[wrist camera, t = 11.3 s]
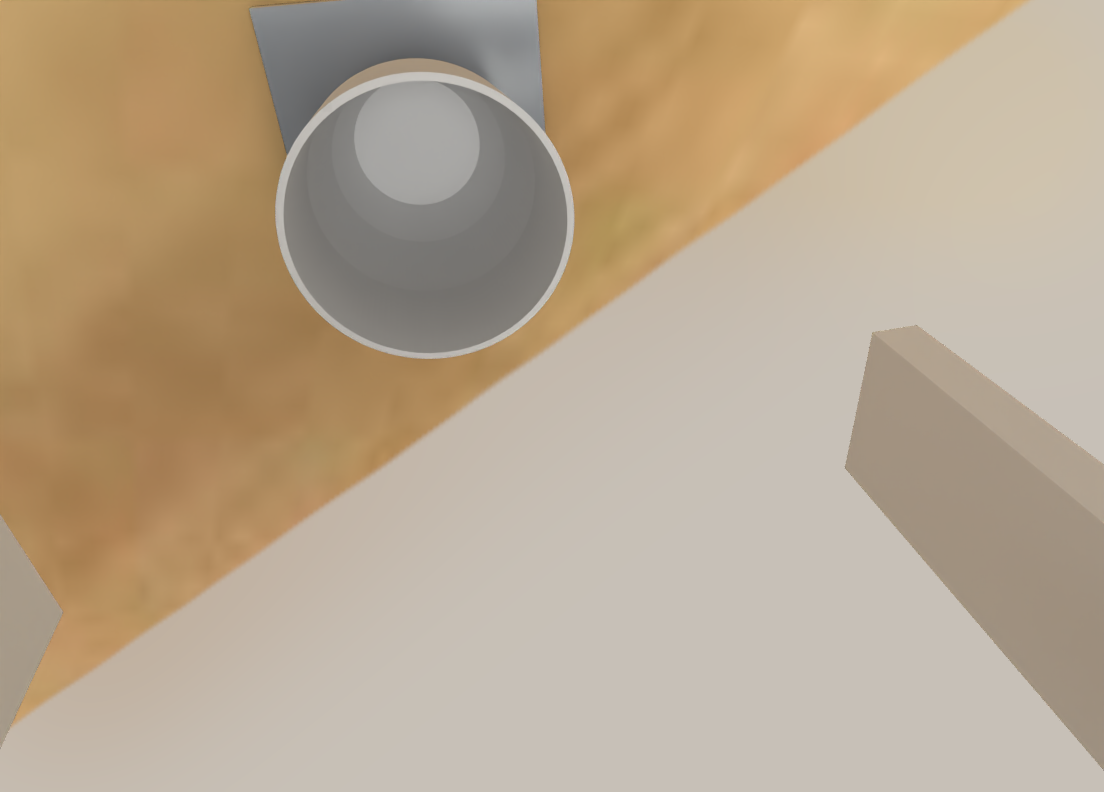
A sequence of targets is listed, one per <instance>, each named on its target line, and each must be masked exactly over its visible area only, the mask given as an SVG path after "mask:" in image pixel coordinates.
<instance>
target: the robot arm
mask: <svg viewBox="0 0 1104 792" xmlns="http://www.w3.org/2000/svg"><path fill="white" fill-rule="evenodd" d="M845 469H846V470H847V471H848V472H849V473H850V475H851V476H852V477H853V478H854V479H855V480H856V482H857V483H858V484H859V485H860V486H861V487H862V489H863V490H864V491H865V492H866V493H867V494H868V496H869V497H870V498H871V499H872V500H873V501H874V503H875V504H876V505H877V506H878V507H879V508H880V509H881V510H882V512H883V513H884V514H885V515H886V517H887V518H888V519H889V520H890V521H891V522H892V524H893V525H894V526H895V527H896V528H897V529H898V530H899V532H900V533H901V534H902V535H903V536H904V538H905V539H906V540H907V541H908V542H909V543H910V545H912V547H913V548H914V549H915V550H916V552H917V553H918V554H919V555H920V556H921V557H922V559H923V560H924V561H925V562H926V563H927V564H928V565H929V567H930V568H931V569H932V570H933V571H934V573H935V574H936V575H937V576H938V577H939V578H940V580H941V581H942V582H943V583H944V584H945V585H946V587H947V588H948V589H949V590H950V591H951V593H952V594H953V595H954V596H955V597H956V598H957V600H958V601H959V602H960V603H961V604H962V605H963V606H964V608H965V609H966V610H967V611H968V612H969V613H970V615H971V616H972V617H973V618H974V619H975V620H976V622H977V623H978V624H979V625H980V626H981V628H983V630H984V631H985V632H986V633H987V635H989V637H990V638H991V639H992V640H993V641H994V643H995V644H996V645H997V646H998V647H999V649H1000V650H1001V651H1002V652H1003V653H1004V654H1005V656H1006V657H1007V658H1008V659H1009V660H1010V661H1011V663H1012V664H1013V665H1014V666H1015V667H1016V668H1017V670H1018V671H1019V672H1020V673H1021V674H1022V675H1023V677H1024V678H1025V679H1026V680H1027V681H1028V682H1029V684H1030V685H1031V686H1032V687H1033V688H1034V689H1035V691H1036V692H1037V693H1038V694H1039V695H1040V696H1041V698H1042V699H1043V700H1044V701H1045V702H1046V703H1047V704H1048V706H1049V707H1050V708H1051V709H1052V710H1053V711H1054V713H1055V714H1056V715H1057V716H1058V717H1059V719H1060V720H1061V721H1062V722H1063V723H1064V724H1065V726H1066V727H1067V728H1068V729H1069V730H1070V731H1071V733H1072V734H1073V735H1074V736H1075V737H1076V738H1077V740H1078V741H1079V742H1080V743H1081V744H1082V745H1083V747H1084V748H1085V749H1086V750H1087V751H1088V752H1089V753H1090V755H1091V756H1092V757H1093V758H1094V759H1095V761H1096V762H1097V763H1098V764H1099V765H1100V767H1101V768H1102V769H1103V770H1104V464H1102V463H1101V462H1100V461H1098V460H1097V459H1096V458H1095V457H1093V456H1092V455H1091V454H1089V453H1088V452H1086V451H1085V450H1084V449H1082V448H1081V447H1080V446H1078V445H1077V444H1076V443H1074V442H1073V441H1072V440H1070V439H1069V438H1068V437H1066V436H1065V435H1064V434H1062V433H1061V432H1059V431H1058V430H1057V429H1056V428H1054V427H1053V426H1052V425H1050V424H1049V423H1047V422H1046V421H1045V420H1044V419H1042V418H1041V417H1039V416H1038V415H1037V414H1035V413H1034V412H1033V411H1031V410H1030V409H1029V408H1027V407H1026V406H1024V405H1023V404H1022V403H1021V402H1019V401H1018V400H1017V399H1015V398H1014V397H1013V396H1011V395H1010V394H1009V393H1007V392H1006V391H1005V390H1003V389H1002V388H1001V387H999V386H998V385H997V384H995V383H994V382H992V381H991V380H990V379H988V378H987V377H986V376H984V375H983V374H982V373H980V372H979V371H978V370H976V369H975V368H974V367H972V366H971V365H970V364H968V363H967V362H966V361H964V360H963V359H962V358H960V357H959V356H958V355H956V354H955V353H953V352H952V351H951V350H949V349H948V348H947V347H945V346H944V345H943V344H941V343H940V342H939V341H937V340H936V339H935V338H933V337H932V336H931V335H929V334H928V333H927V332H925V331H924V330H923V329H921V328H920V327H918V326H917V325H915V326H909V327H903V328H896V329H890V330H884V331H878V332H873V333H872V338H871V342H870V347H869V352H868V357H867V362H866V367H865V372H864V377H863V382H862V387H861V392H860V396H859V402H858V407H857V412H856V416H855V421H854V426H853V431H852V436H851V440H850V445H849V450H848V455H847V460H846V465H845ZM62 614H63V611H62V609H61V608H60V606H59V605H58V603H57V602H56V600H55V599H54V597H53V595H52V594H51V592H50V591H49V589H48V588H47V586H46V585H45V583H44V581H43V580H42V578H41V577H40V575H39V574H38V572H37V571H36V569H35V568H34V566H33V564H32V563H31V561H30V560H29V558H28V557H27V555H26V554H25V552H24V551H23V549H22V547H21V546H20V544H19V543H18V541H17V540H16V538H15V537H14V535H13V533H12V532H11V530H10V529H9V527H8V526H7V524H6V523H5V521H4V520H3V518H2V516H1V515H0V748H1V746H2V744H3V742H4V739H5V737H6V735H7V733H8V731H9V729H10V726H11V724H12V722H13V720H14V718H15V716H16V713H17V711H18V709H19V707H20V705H21V703H22V700H23V698H24V696H25V694H26V692H27V690H28V687H29V685H30V683H31V681H32V679H33V677H34V674H35V672H36V670H37V668H38V666H39V664H40V661H41V659H42V657H43V655H44V653H45V651H46V648H47V646H48V644H49V642H50V640H51V638H52V635H53V633H54V631H55V629H56V627H57V625H58V622H59V620H60V618H61V616H62Z"/></svg>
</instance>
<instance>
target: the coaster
mask: <svg viewBox="0 0 1104 792" xmlns="http://www.w3.org/2000/svg"><path fill="white" fill-rule="evenodd" d="M249 11H250V15H251V18H252V22H253V26H254V30H255V34H256V38H257V42H258V45H259V49H260V53H261V57H262V61H263V65H264V68H265V72H266V76H267V80H268V84H269V88H270V92H271V95H272V99H273V103H274V107H275V111H276V115H277V118H278V122H279V126H280V130H281V134H282V138H283V142H284V145H285V149H286V153H287V156H288V153H289V151H290V149H291V147H292V146H293V144H294V142H295V140H296V139H297V137H298V136H299V134H300V133H301V131H302V130H303V129H304V127H305V126H306V125H307V124H308V122H309V121H310V120H311V118H312V117H313V116H314V115H315V113H316V112H317V111H318V109H319V108H320V107H321V106H322V104H323V103H324V102H325V100H326V99H327V98H328V97H329V96H330V95H331V94H332V93H333V92H334V91H335V90H336V89H337V88H338V87H339V86H340V85H341V84H343V83H344V82H345V81H347V80H348V79H349V78H351V77H352V76H354V75H356V74H357V73H359V72H361V71H363V70H365V69H367V68H370V67H372V66H375V65H377V64H381V63H384V62H388V61H393V60H398V59H408V58H424V59H433V60H439V61H444V62H448V63H451V64H455V65H457V66H460V67H463V68H465V69H467V70H469V71H471V72H473V73H475V74H477V75H479V76H480V77H482V78H484V79H485V80H487V81H488V82H489V83H491V84H492V85H493V86H495V87H496V88H497V89H498V90H500V91H501V92H502V93H503V94H505V95H506V96H507V97H508V98H509V99H511V100H512V101H513V102H514V103H516V104H517V105H518V106H519V107H521V108H522V109H523V110H524V111H525V112H526V113H527V114H528V115H530V116H531V117H532V118H533V119H534V121H535V122H536V123H537V124H538V125H539V126H540V127H541V129H542V130H543V131H544V132H545V121H544V106H543V91H542V76H541V61H540V46H539V31H538V16H537V1H536V0H320V1H309V2H297V3H286V4H274V5H263V6H252V7H251V8H249Z"/></svg>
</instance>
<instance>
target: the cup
mask: <svg viewBox="0 0 1104 792" xmlns="http://www.w3.org/2000/svg"><path fill="white" fill-rule="evenodd" d="M275 217H276V229H277V236H278V241H279V245H280V249H281V252H282V256H283V259H284V261H285V264H286V266H287V269H288V271H289V273H290V275H291V277H292V279H293V281H294V282H295V284H296V286H297V287H298V289H299V290H300V292H301V293H302V295H303V296H304V297H305V299H306V300H307V301H308V303H309V304H310V305H311V306H312V307H313V308H314V309H315V310H316V312H317V313H319V314H320V315H321V316H322V317H323V318H324V319H325V320H326V321H327V322H328V323H330V324H331V325H332V326H333V327H335V328H336V329H337V330H339V331H340V332H342V333H343V334H345V335H346V336H348V337H350V338H352V339H353V340H355V341H357V342H359V343H361V344H363V345H366V346H368V347H370V348H373V349H376V350H379V351H382V352H385V353H389V354H392V355H397V356H402V357H409V358H420V359H436V358H448V357H455V356H460V355H464V354H468V353H472V352H475V351H478V350H481V349H484V348H486V347H489V346H491V345H493V344H495V343H497V342H499V341H501V340H503V339H504V338H506V337H508V336H509V335H511V334H513V333H514V332H515V331H517V330H518V329H519V328H521V327H522V326H523V325H524V324H526V323H527V322H528V321H529V320H530V319H531V318H532V317H533V316H534V315H535V314H536V313H537V312H538V311H539V310H540V309H541V308H542V306H543V305H544V304H545V303H546V301H547V300H548V299H549V297H550V296H551V294H552V293H553V291H554V290H555V288H556V286H557V284H558V283H559V281H560V279H561V277H562V274H563V272H564V270H565V267H566V264H567V261H568V258H569V255H570V251H571V246H572V241H573V233H574V204H573V197H572V191H571V187H570V183H569V179H568V176H567V173H566V170H565V168H564V165H563V163H562V161H561V158H560V156H559V154H558V153H557V151H556V149H555V147H554V145H553V144H552V142H551V141H550V139H549V138H548V136H547V135H546V134H545V132H544V131H543V130H542V129H541V127H540V126H539V125H538V124H537V123H536V122H535V121H534V119H533V118H532V117H531V116H530V115H528V114H527V113H526V112H525V111H524V110H523V109H522V108H521V107H519V106H518V105H517V104H516V103H514V102H513V101H512V100H511V99H509V98H508V97H507V96H506V95H505V94H503V93H502V92H501V91H500V90H498V89H497V88H496V87H495V86H493V85H492V84H491V83H489V82H488V81H487V80H485V79H484V78H482V77H480V76H479V75H477V74H475V73H473V72H471V71H469V70H467V69H465V68H463V67H460V66H457V65H455V64H451V63H448V62H444V61H439V60H433V59H424V58H408V59H398V60H393V61H388V62H384V63H381V64H377V65H375V66H372V67H370V68H367V69H365V70H363V71H361V72H359V73H357V74H356V75H354V76H352V77H351V78H349V79H348V80H347V81H345V82H344V83H343V84H341V85H340V86H339V87H338V88H337V89H336V90H335V91H334V92H333V93H332V94H331V95H330V96H329V97H328V98H327V99H326V100H325V102H324V103H323V104H322V106H321V107H320V108H319V109H318V111H317V112H316V113H315V115H314V116H313V117H312V118H311V120H310V121H309V122H308V124H307V125H306V126H305V127H304V129H303V130H302V131H301V133H300V134H299V136H298V137H297V139H296V140H295V142H294V144H293V146H292V147H291V149H290V151H289V153H288V156H287V158H286V160H285V163H284V165H283V168H282V171H281V175H280V178H279V183H278V188H277V194H276V206H275Z"/></svg>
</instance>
